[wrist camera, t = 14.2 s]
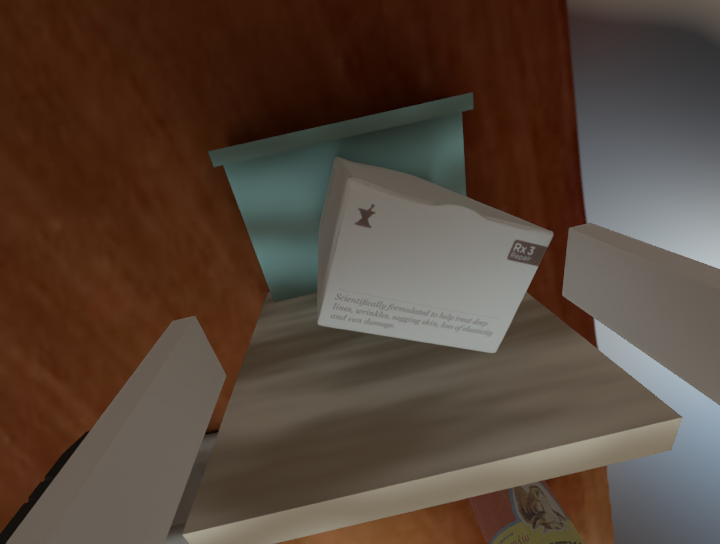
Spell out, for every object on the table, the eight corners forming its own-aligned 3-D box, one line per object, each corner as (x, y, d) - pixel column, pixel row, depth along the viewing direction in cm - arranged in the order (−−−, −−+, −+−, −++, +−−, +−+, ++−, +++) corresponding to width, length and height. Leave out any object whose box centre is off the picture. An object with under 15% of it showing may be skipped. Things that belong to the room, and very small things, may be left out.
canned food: (546, 452, 45) (617, 553, 34) (524, 500, 50) (580, 602, 39) (473, 456, 44) (522, 563, 33) (457, 504, 49) (496, 612, 38)
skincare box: (318, 226, 25) (299, 332, 12) (335, 149, 23) (336, 172, 10) (414, 249, 27) (495, 366, 13) (439, 179, 25) (567, 234, 11)
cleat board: (214, 150, 25) (-92, 207, 7) (460, 95, 25) (828, 2, 7) (274, 308, 31) (203, 560, 13) (469, 264, 31) (671, 450, 13)
